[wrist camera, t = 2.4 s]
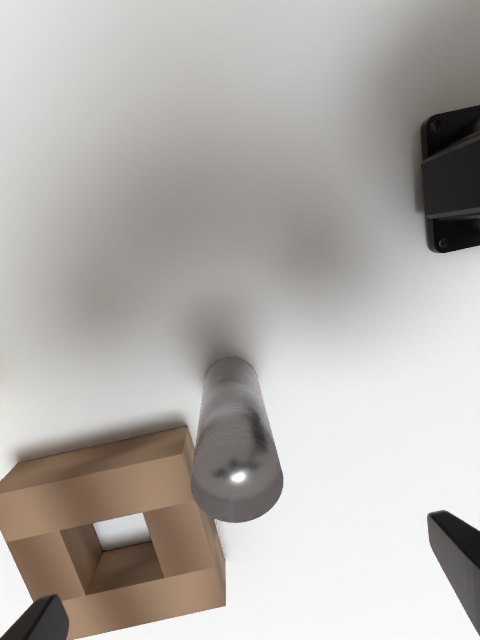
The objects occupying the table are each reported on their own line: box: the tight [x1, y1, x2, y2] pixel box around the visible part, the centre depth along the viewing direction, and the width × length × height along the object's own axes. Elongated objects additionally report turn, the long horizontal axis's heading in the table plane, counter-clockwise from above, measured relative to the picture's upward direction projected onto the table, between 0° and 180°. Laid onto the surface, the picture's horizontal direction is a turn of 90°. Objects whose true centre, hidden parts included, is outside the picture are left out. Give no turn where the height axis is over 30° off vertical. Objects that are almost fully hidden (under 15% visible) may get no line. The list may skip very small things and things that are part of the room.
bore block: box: [0, 426, 226, 640], centre depth 19 cm, size 10×10×3 cm
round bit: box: [191, 358, 283, 523], centre depth 14 cm, size 3×3×8 cm
